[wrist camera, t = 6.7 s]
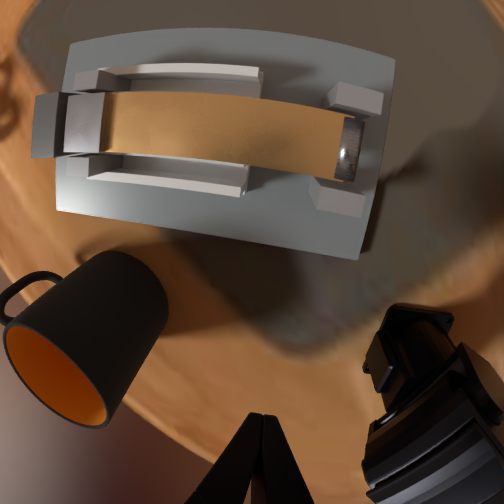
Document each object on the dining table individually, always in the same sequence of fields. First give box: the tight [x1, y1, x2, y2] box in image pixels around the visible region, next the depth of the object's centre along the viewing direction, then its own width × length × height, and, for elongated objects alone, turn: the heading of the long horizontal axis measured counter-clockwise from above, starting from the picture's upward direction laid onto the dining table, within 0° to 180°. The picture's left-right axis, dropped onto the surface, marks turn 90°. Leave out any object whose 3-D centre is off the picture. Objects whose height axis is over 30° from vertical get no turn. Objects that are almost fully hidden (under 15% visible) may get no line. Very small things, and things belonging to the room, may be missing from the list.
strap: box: [64, 92, 365, 182], centre depth 12 cm, size 15×3×2 cm, turn 82°
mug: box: [0, 251, 168, 429], centre depth 17 cm, size 8×12×10 cm
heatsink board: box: [31, 28, 396, 261], centre depth 14 cm, size 22×13×6 cm, turn 82°
